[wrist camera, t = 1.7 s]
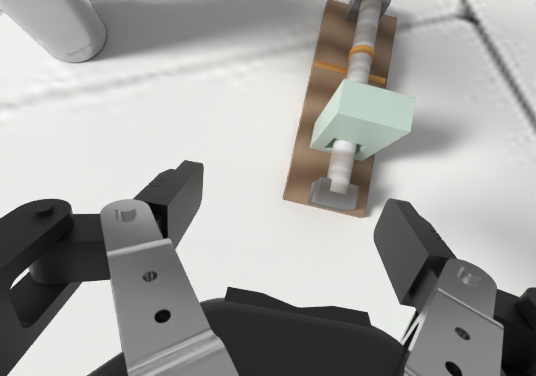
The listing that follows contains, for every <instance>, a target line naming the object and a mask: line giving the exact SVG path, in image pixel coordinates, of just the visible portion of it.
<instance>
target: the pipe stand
mask: <svg viewBox="0 0 536 376" xmlns="http://www.w3.org/2000/svg"><path fill="white" fill-rule="evenodd" d="M390 3H391V0H350V2H349V4H345V3H341V2H338V1H334V0H327V3H326V6H325V10H324V15H323V19H322V24H321V28H320V33H319V37H318V42H317V46H316V51H315V55H314V60H313V65H312V69H311V74H310V78H309V83H308V87H307V92H306V96H305V101H304V105H303V110H302V114H301V119H300V123H299V128H298V132H297V137H296V141H295V146H294V150H293V155H292V159H291V164H290V168H289V173H288V177H287V182H286V187H285V191H284V196H283V199H284V200H288V201H292V202H296V203H300V204H305V205H309V206H313V207H317V208H321V209H325V210H329V211H334V212H338V213H342V214H346V215H350V216H354V217H359V218H362V217H364V215H365V209H366V203H367V197H368V191H369V185H370V179H371V173H372V167H373V161H374V155H375V154H373V155H371V156H369V157H368V158H366V159H364V160H363V161H359V160H355V159H354V156H355V151H356V145H357V144H356V143H352V142H348V141H344V140H340V139H336V138H335V139H334V144H333V149H332V154H331V153H327V152H323V151H319V150H315V149H311V148H310V143H311V139H312V134H313V129H314V124H315V122H316V120H317V119H318V117H319V116H320V114H321V113H322V111H323V110H324V108H325V107H326V105H327V104H328V102H329V101H330V99H331V98H332V96H333V95H334V93H335V92H336V90H337V89H338V87H339V86H340V84H341V83H342V81H343V80H344V79H348V80H352V81H355V82H359V83H363V84H367V85H370V86H374V87H378V88H382V89H385V88H386V82H387V76H388V70H389V64H390V58H391V52H392V46H393V40H394V34H395V28H396V22H397V18H395V17H391V16H388V15H384V12H385V11H386V9H387V8H388V6H389V5H390Z"/></svg>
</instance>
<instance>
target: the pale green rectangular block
mask: <svg viewBox="0 0 536 376" xmlns="http://www.w3.org/2000/svg"><path fill="white" fill-rule="evenodd" d="M414 105H415V97H412V96H408V95H404V94H400V93H397V92H393V91H389V90H385V89H382V88H378V87H374V86H370V85H367V84H363V83H359V82H355V81H352V80H348V79H344V80H343V81H342V83H341V84H340V86H339V87H338V89H337V90H336V92H335V93H334V95H333V96H332V98H331V99H330V101H329V102H328V104H327V105H326V107H325V108H324V110H323V111H322V113H321V114H320V116H319V117H318V119H317V120H316V122H315V124H314V129H313V134H312V139H311V143H310V148H311V149H315V150H319V151H323V152H327V153H331V154H332V149H333V144H334V139H335V138H336V139H340V140H344V141H348V142H352V143H356V144H357V145H356V151H355V156H354V159H355V160H359V161H363V160H364V159H366V158H368V157H369V156H371V155H373V154H375V153H376V152H378V151H380V150H381V149H383V148H385V147H386V146H388V145H390V144H391V143H393V142H395V141H396V140H398V139H400V138H401V137H403V136H405V135H407V134H408V133H410V132H411V126H412V119H413V112H414Z"/></svg>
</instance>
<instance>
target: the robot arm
mask: <svg viewBox="0 0 536 376" xmlns="http://www.w3.org/2000/svg"><path fill="white" fill-rule="evenodd" d="M0 9H1V10H3V11H4V12H5V13H6V14H7V15H8V16H9V17H10V18H11V19H12V20H13V21H15V22H16V23H17V24H18V25H19V26H20V27H21V28H22V29H23V30H24V31H25V32H26V33H28V34H29V35H30V36H31V37H32V38H33V39H34V40H35V41H36V42H37V43H38V44H39V45H41V46H42V47H43V48H44V49H45V50H46V51H47V52H48V53H49V54H50V55H52V56H53V57H55V58H56V59H58V60H61V61H64V62H73V63H76V62H82V61H85V60H88V59H90V58H92V57H93V56H95V55H96V54H97V53H98V52H99V51H100V50H101V49H102V47H103V46H104V43H105V41H106V28H105V25H104V23H103V22H102V20H101V19H100V17H99V16H98V14H97V13H96V11H95V10H94V8H93V7H92V5H91V4H90V2H89V0H0ZM203 171H204V167H203V164H202V163H197V162H192V161H187V160H185V161H183V162H182V163H181V165H180V166H179V167H178V168H177V169H176V170H174V169H169V170H167V171H164V172H162V173H160V174H159V175H158V176H157V177H156V178H155V179H154V180H152V181H151V182H150V183H149V185H147V186H146V187H145V188H144V189H143V190H142V191H141V192H140V193H139V194H138V195H137V196H136V197H135V198H133V199H128V200H120V201H116V202H113V203H110V204H108V205H107V206H105V207H104V208H103V209H102V210H101V212H100V214H73V213H72V208H71V205H70V204H69V203H68V202H66V201H64V200H60V199H42V200H37V201H32V202H29V203H26V204H24V205H21V206H20V207H18V208H16V209H14V210H13V211H11V212H10V213H8V214H7V215H5V216H4V217H2V218H0V376H7V375H8V374H9V372H10V371H11V370H12V369H13V367H14V366H15V365H16V364H17V363H18V361H19V360H20V359H21V358H22V356H23V355H24V354H25V353H26V351H27V350H28V349H29V348H30V346H31V345H32V344H33V343H34V341H35V340H36V339H37V338H38V336H39V335H40V334H41V333H42V332H43V330H44V329H45V328H46V327H47V325H48V324H49V323H50V322H51V320H52V319H53V318H54V317H55V315H56V314H57V313H58V312H59V310H60V309H61V308H62V307H63V306H64V304H65V303H66V302H67V301H68V299H69V298H70V297H71V296H72V294H73V293H74V292H75V291H76V289H77V288H78V287H79V286H80V284H81V283H82V282H86V281H98V280H110V281H111V287H112V293H113V299H114V305H115V311H116V317H117V323H118V329H119V335H120V341H121V347H122V352H121V353H120V354H118V355H117V356H115V357H114V358H112V359H111V360H109V361H108V362H106V363H105V364H103V365H102V366H100V367H99V368H97V369H96V370H94V371H93V372H92V373H90V374H89V375H87V376H536V288H528V289H527V290H526V291H525V292H524V293H523V295H522V296H521V297H517V296H515V295H512V294H510V293H507V292H504V291H502V290H499V289H497V286H496V283H495V281H494V280H493V279H492V278H491V277H490V276H489V275H488V274H487V273H486V272H485V271H483V270H482V269H481V268H479V267H477V266H475V265H474V264H472V263H469V262H467V261H464V260H460V259H457V258H456V256H455V255H454V254H453V252H452V251H451V250H450V249H449V247H448V246H447V245H446V243H445V242H444V241H443V240H441V239H442V238H441V237H440V236H439V234H438V233H436V230H435V229H434V228H433V227H432V225H431V224H430V223H429V222H428V221H426V220H425V219H424V218H423V217H421V216H420V215H419V214H418V213H417V211H416V210H415V209H414V207H413V206H412V205H411V203H410V202H407V201H402V200H396V199H389V200H388V201H387V202H386V204H385V206H384V209H383V211H382V213H381V216H380V218H379V220H378V222H377V225H376V227H375V230H374V242H375V245H376V247H377V250H378V252H379V255H380V257H381V259H382V262H383V264H384V267H385V269H386V271H387V274H388V276H389V279H390V281H391V284H392V286H393V288H394V291H395V293H396V296H397V298H398V300H399V303H400V304H401V305H406V306H412V307H415V308H416V311H415V312H414V314H413V316H412V317H411V319H410V321H409V323H408V325H407V328H406V330H405V332H404V334H403V336H402V338H401V340H400V342H398V341H397V340H396V339H394V338H393V337H392V336H390V335H389V334H387V333H385V332H384V331H382V330H380V329H378V328H376V327H374V326H372V325H371V323H370V319H369V316H368V312H363V311H358V310H352V309H347V308H341V307H336V306H324V307H304V308H299V307H295V306H292V305H290V304H288V303H285V302H283V301H280V300H278V299H275V298H273V297H271V296H268V295H266V294H263V293H259V292H254V291H248V290H243V289H238V288H232V287H228V288H227V292H226V296H225V298H216V299H210V300H206V301H203V302H200V303H199V301H198V299H197V297H196V295H195V292H194V290H193V288H192V286H191V284H190V281H189V279H188V277H187V275H186V273H185V270H184V268H183V266H182V264H181V261H180V259H179V257H178V255H177V253H176V250H175V249H176V247H177V246H178V244H179V242H180V240H181V239H182V237H183V235H184V234H185V232H186V230H187V228H188V227H189V225H190V223H191V222H192V220H193V218H194V216H195V215H196V213H197V211H198V209H199V207H200V204H201V200H202V189H203ZM27 268H29V271H30V272H28V273H27V274H26V275H25V276H24V277H23V278H22V279H21V280H20V281H19V282H18V283H17V284H16V285H14V286H13V287H12V288H11V286H12V284H13V282H14V280H15V279H16V278H17V277H18V276H19V275H20V274H21V273H22V272H23V271H24V270H26V269H27ZM10 288H11V289H10Z"/></svg>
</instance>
